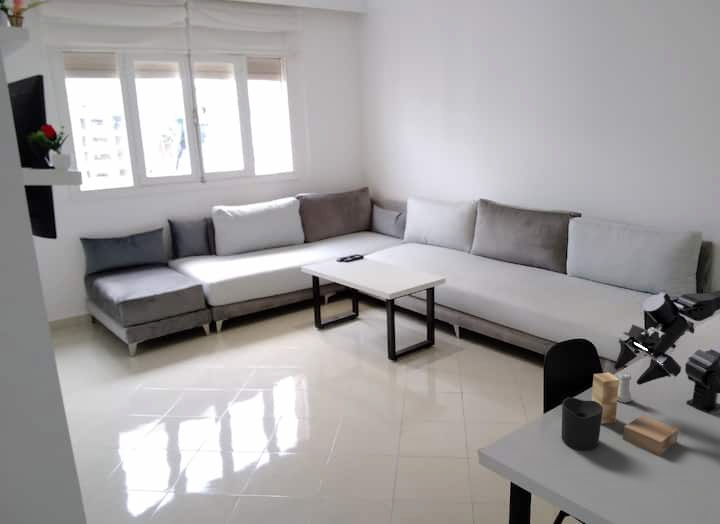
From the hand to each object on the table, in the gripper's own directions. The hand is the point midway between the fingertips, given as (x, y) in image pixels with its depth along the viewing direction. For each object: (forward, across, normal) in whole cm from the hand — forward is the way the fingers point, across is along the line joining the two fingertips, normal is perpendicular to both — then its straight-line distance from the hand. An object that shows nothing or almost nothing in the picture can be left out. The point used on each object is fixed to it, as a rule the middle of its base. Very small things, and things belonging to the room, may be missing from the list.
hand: (625, 375), depth 146 cm
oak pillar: (+13, 0, +4) cm, 13 cm away
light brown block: (+9, +12, +8) cm, 17 cm away
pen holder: (+21, +8, -4) cm, 23 cm away
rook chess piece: (+4, -8, +13) cm, 16 cm away
